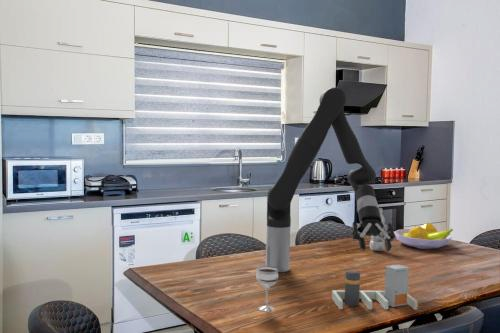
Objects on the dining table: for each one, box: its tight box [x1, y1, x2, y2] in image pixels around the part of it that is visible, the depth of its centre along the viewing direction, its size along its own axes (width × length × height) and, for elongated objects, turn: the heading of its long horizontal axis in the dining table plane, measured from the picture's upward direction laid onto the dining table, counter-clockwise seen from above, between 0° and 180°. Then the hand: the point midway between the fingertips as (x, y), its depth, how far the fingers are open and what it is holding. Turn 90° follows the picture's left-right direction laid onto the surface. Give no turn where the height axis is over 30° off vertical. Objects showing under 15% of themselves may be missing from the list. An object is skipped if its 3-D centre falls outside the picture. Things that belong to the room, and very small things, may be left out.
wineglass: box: [255, 265, 279, 313], centre depth 139 cm, size 7×7×12 cm
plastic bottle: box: [369, 207, 386, 252], centre depth 216 cm, size 6×7×20 cm
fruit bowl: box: [394, 222, 454, 250], centre depth 228 cm, size 28×27×11 cm
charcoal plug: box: [343, 270, 361, 307], centre depth 144 cm, size 5×5×10 cm
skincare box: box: [383, 264, 410, 308], centre depth 145 cm, size 6×4×12 cm
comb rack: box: [331, 289, 418, 311], centre depth 145 cm, size 24×10×2 cm, turn 93°
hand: (376, 249), depth 158 cm, fingers open, 8 cm apart
